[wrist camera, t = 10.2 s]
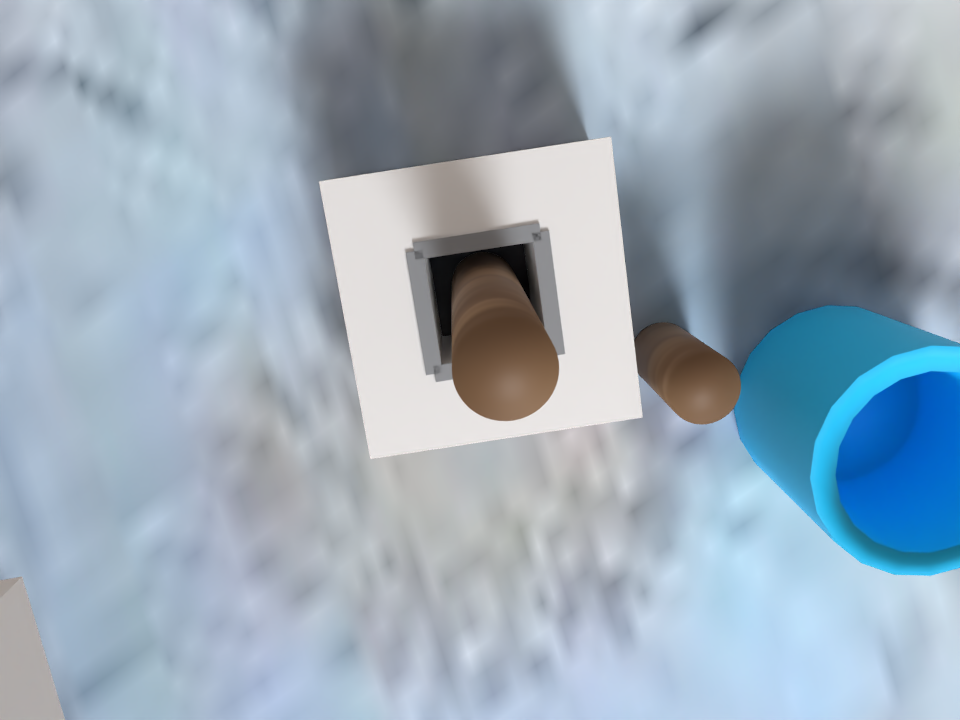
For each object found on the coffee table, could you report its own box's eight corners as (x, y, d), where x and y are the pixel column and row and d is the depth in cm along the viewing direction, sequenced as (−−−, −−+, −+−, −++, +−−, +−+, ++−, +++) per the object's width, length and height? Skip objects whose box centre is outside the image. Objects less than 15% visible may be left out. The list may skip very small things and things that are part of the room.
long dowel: (457, 319, 36) (460, 428, 22) (446, 257, 36) (443, 325, 21) (519, 310, 36) (565, 412, 22) (510, 247, 36) (551, 309, 21)
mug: (712, 472, 38) (781, 553, 30) (763, 287, 37) (850, 322, 29) (973, 521, 39) (1106, 613, 31) (1035, 343, 38) (1192, 392, 30)
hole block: (380, 419, 37) (370, 459, 32) (336, 178, 35) (318, 181, 30) (617, 383, 37) (643, 418, 32) (588, 139, 35) (611, 136, 30)
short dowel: (633, 387, 37) (670, 428, 31) (628, 326, 37) (664, 357, 31) (695, 379, 37) (742, 419, 32) (691, 318, 37) (738, 347, 31)
